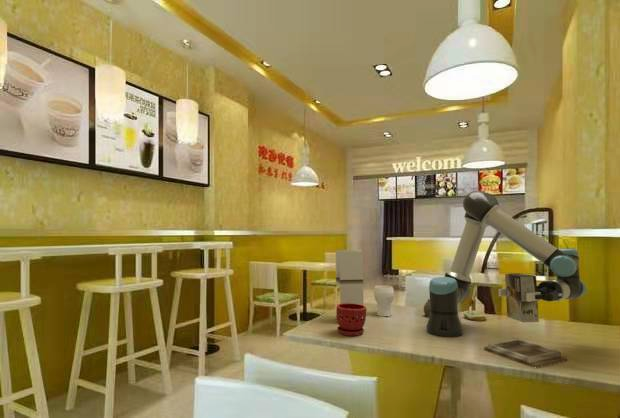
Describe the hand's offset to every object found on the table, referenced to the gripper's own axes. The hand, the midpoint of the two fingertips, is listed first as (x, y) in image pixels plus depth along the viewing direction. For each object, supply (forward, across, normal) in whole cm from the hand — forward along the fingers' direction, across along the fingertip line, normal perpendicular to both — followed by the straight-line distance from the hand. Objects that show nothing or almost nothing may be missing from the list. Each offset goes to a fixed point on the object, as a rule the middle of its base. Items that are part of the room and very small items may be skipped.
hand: (513, 295), depth 127 cm
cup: (+5, +72, -22) cm, 75 cm away
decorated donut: (-32, +46, -22) cm, 60 cm away
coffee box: (-4, 0, -9) cm, 10 cm away
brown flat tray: (-4, 0, -22) cm, 22 cm away
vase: (-15, +59, -22) cm, 65 cm away
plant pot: (+38, +50, -22) cm, 66 cm away
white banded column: (+28, +69, -22) cm, 78 cm away
